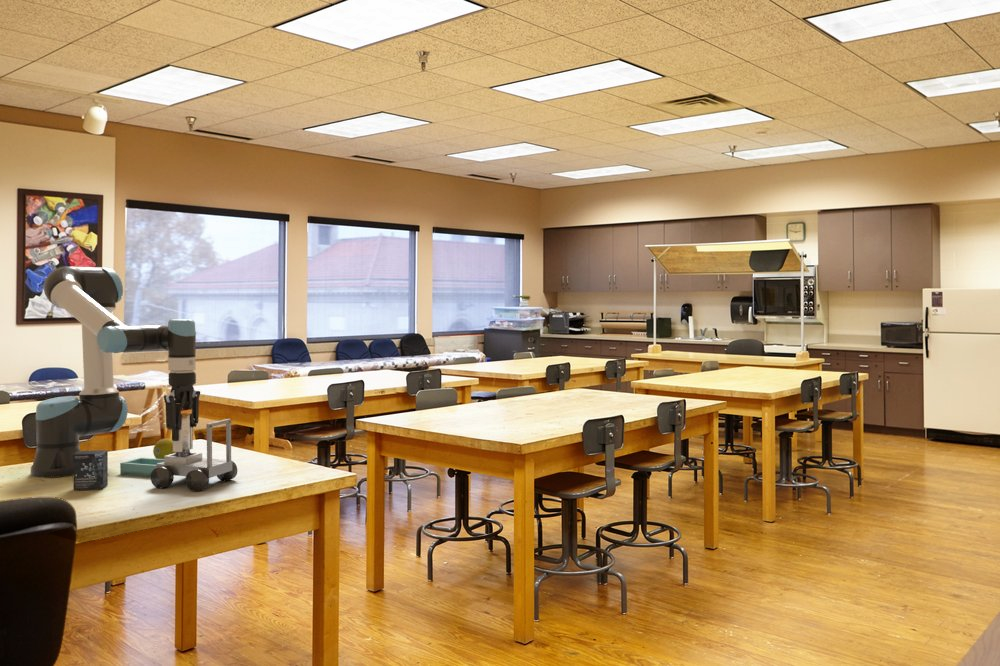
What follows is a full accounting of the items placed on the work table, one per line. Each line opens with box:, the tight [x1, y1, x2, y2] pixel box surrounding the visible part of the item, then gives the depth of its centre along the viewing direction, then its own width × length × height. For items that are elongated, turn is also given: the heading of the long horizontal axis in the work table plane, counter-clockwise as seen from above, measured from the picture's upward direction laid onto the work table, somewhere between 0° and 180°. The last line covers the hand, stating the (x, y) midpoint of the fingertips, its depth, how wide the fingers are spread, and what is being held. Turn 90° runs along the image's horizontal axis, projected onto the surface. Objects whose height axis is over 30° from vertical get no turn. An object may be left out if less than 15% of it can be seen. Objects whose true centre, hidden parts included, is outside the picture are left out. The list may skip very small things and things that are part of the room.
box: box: [73, 449, 109, 491], centre depth 232 cm, size 8×6×11 cm
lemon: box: [152, 438, 176, 459], centre depth 269 cm, size 11×8×8 cm
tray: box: [119, 457, 164, 477], centre depth 253 cm, size 13×9×4 cm
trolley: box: [150, 418, 238, 493], centre depth 238 cm, size 18×16×19 cm
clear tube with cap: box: [176, 409, 192, 457], centre depth 239 cm, size 5×5×15 cm
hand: (182, 450), depth 239 cm, fingers closed on clear tube with cap, 4 cm apart
